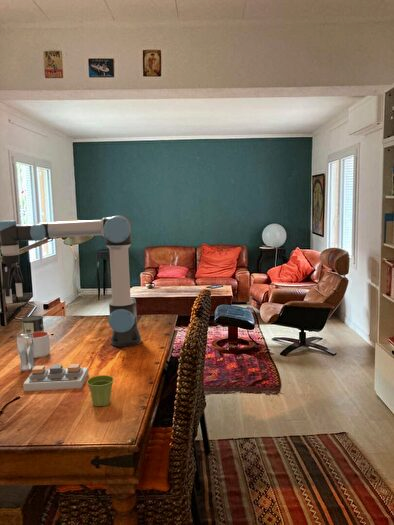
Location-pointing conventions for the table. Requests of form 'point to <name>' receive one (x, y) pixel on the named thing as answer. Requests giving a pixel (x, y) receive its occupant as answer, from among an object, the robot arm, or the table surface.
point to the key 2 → (73, 367)
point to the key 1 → (38, 369)
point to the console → (56, 380)
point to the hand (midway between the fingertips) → (14, 299)
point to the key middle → (56, 368)
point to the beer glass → (26, 351)
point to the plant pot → (100, 389)
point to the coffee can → (32, 324)
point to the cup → (41, 344)
